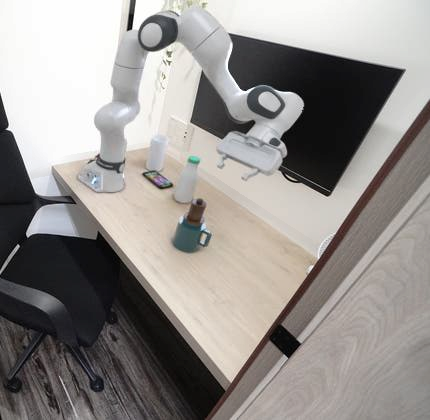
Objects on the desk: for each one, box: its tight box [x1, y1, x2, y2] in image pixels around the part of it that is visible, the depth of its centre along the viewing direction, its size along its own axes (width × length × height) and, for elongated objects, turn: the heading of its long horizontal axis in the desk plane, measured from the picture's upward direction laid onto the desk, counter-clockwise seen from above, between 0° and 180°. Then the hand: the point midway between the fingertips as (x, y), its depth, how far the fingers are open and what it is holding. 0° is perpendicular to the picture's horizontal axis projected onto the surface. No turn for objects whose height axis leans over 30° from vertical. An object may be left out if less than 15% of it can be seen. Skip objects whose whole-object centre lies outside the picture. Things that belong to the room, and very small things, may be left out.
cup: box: [145, 134, 170, 172], centre depth 160 cm, size 8×8×16 cm
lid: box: [182, 197, 207, 225], centre depth 108 cm, size 7×7×9 cm
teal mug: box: [171, 215, 213, 254], centre depth 114 cm, size 12×9×12 cm
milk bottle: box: [173, 155, 201, 204], centre depth 136 cm, size 8×8×20 cm
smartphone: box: [142, 170, 174, 190], centre depth 154 cm, size 8×1×15 cm
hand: (230, 173), depth 107 cm, fingers open, 8 cm apart
